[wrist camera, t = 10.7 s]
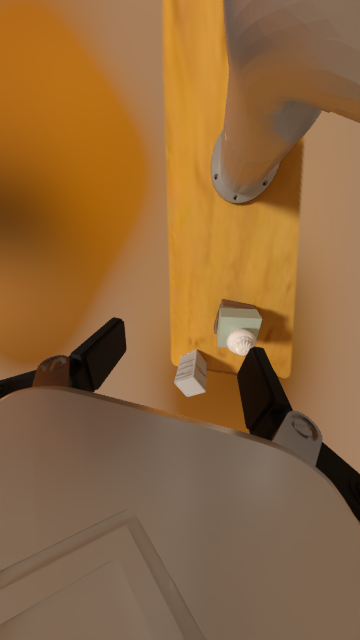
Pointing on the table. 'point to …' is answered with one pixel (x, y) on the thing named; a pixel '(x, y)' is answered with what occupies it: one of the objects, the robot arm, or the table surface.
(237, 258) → the table surface
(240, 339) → the muffin
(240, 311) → the top block
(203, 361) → the supplement box
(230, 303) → the bottom block
